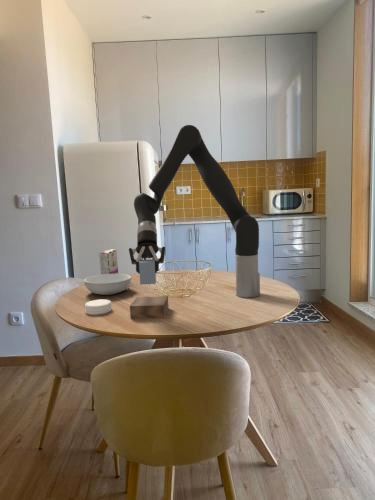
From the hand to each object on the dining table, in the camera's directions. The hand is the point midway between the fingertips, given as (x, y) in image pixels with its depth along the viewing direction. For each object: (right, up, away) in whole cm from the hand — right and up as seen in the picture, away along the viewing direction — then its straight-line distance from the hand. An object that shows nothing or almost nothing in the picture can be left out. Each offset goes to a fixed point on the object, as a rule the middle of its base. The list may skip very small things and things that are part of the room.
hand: (147, 271), depth 139 cm
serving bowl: (-21, -12, +38) cm, 45 cm away
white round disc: (-20, -16, +10) cm, 27 cm away
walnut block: (+1, -16, +4) cm, 16 cm away
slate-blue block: (0, -4, +2) cm, 5 cm away
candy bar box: (-25, -9, +57) cm, 63 cm away
